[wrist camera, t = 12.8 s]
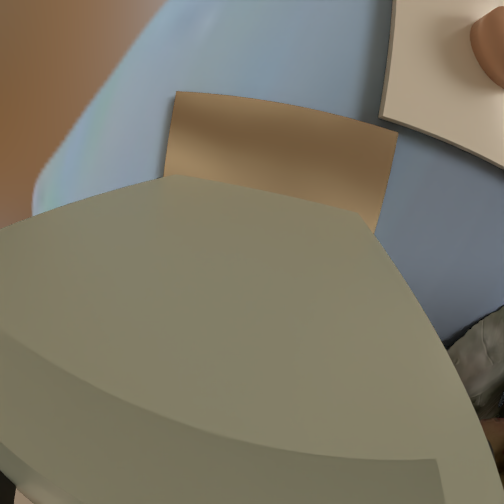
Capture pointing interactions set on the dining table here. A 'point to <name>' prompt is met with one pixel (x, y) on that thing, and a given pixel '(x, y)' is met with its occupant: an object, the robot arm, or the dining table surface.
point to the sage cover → (224, 358)
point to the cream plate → (448, 73)
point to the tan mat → (281, 150)
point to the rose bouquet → (484, 377)
